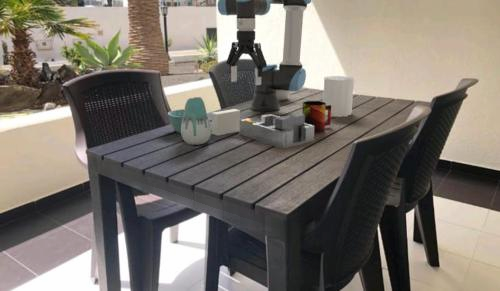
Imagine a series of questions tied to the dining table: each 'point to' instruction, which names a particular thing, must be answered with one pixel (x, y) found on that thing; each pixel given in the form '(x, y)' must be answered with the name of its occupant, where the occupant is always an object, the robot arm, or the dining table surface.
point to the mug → (316, 115)
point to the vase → (195, 122)
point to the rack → (279, 130)
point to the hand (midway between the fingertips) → (245, 83)
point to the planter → (282, 95)
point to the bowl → (176, 119)
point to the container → (338, 95)
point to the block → (225, 121)
